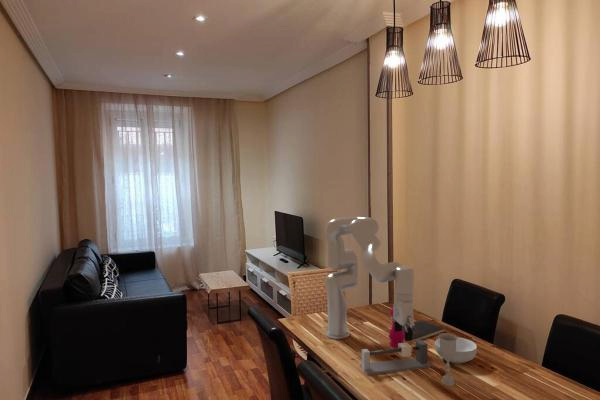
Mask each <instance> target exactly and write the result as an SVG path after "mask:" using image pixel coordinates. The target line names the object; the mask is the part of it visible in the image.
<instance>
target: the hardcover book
mask: <svg viewBox="0 0 600 400" xmlns="http://www.w3.org/2000/svg"><path fill="white" fill-rule="evenodd" d="M413 322H414V324H415V326H414V330H413V336H412V341H411V342H413V343H416V341H419V340H424V339H426V338H429V337H433V336H435V335H439V334H441V333H445V330H446V328H445V327H442V326H439V325H437V324H434V323H432V322H428V321H426V320H423V319H419V320H417V321H413ZM409 327H410V326H407V328H409ZM390 330H391V328H390V329H389V331H390ZM402 330H403V332H404V335H405V331H406V330H405V326H402Z"/></svg>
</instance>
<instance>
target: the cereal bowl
mask: <svg viewBox="0 0 600 400" xmlns="http://www.w3.org/2000/svg"><path fill="white" fill-rule="evenodd" d="M434 347H435V352H436V353H437V354H438V356H439V357H441V358H442V359H444V358H443V355H442V353H441V350H440V338H437V339H436V340H435V342H434ZM477 350H478V346H477V344H476V343H475V342H474V341H472V340H471V339H470V340H469V339H467V338H463V337H458V336H457V340H456V352H455V355H454V357H453V359H452V360H451V361H449V363H452V364H464V363H467V362H470V361H471V360H474V358H475V357H476V355H477V353H478V352H477Z"/></svg>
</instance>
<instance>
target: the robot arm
mask: <svg viewBox="0 0 600 400" xmlns="http://www.w3.org/2000/svg"><path fill="white" fill-rule="evenodd" d="M378 223H379V222H377V221H376V220H375V218H373V217H367V216H366V217H365V216H364V217H363V216H348V217H347V216H346V217H337V218H334V219H331V220H329V221H328V222H327V224H326V226H325V237H326V245H327V251H326V252H327V266H328V268H329V269H330V270H331V271H335V272H332V273H329V274H328V275H327V276H326V277H325V278H324V279H325V280H324V285H325V289H326V290H325V291H326V296H327V297H326V298H327V299H326V300H327V329H326V330H325V331H324V335H325V336H326V337H327V338H328V339H333V340H343V339H346V338H349V337H350V335H351V332H350V330H349V329H348V322H347V315H348V314H347V312H348V311H347V310H348V309H347V297H346V295H345V294H344V293H343V292H344V291H346V290H352V289H354V288H356V287H357V285H358V281H359V261H358V256H357V254H356V252H355V251H354V250H353V249H350V248H347V249H345V241H344V240H345V239H343V237H342V236H348V235H352V236H353V238H354V239H355V241H356V242H357V243H358V245H359V247H360V248H361V249H362V250H363V251H364V253H363V255H364V256H363V260H364V261H363V262H364V265H365V268H366V269H367V272H368V273H369V274H370V276H371V277H372V278H373V279H374V280H375V281H376V282H377V283H386V282H390V281H394V299H393V300H394V301H393V306H392V307H393V318H394V322H395V326H394V331H395V332H397V331H402V326H405V330H406V331H405V339H404V341H405V342H409V341H410V342H412V336H413V330H414V326H415V324H414V322H415V321H414V306H413V305H414V304H413V301H414V290H415V289H414V285H415V283H414V282H415V270H414V268H413V267H411V266H409V265H404V264H402V263H400V262H397V261H391V262H385V263H380V262H379V260H378V259H377V257H376V256H375V252H376V251H377V250H378V249H379V248H380V246H381V241H380V239H379V237H378V236H377V234H378V232H379V224H378ZM341 270H342V271H341ZM407 326H410V327H409V328H407Z"/></svg>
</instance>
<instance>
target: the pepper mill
mask: <svg viewBox="0 0 600 400" xmlns="http://www.w3.org/2000/svg"><path fill="white" fill-rule="evenodd" d="M393 307H394V306H392V307H391V308H390V312H389V313H390V316H391V317H390V320H391V322H392V323H391V324H392V325H391V328H390V329H391V330H390V329H389V333H388V338H389V340H390V341H389V345H390V347H391V348H393V349H398V343H405V342H404V341H405V335H404V332H403V330H402V331H397V332H395V331H394V326H395V322H394V318H393Z"/></svg>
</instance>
